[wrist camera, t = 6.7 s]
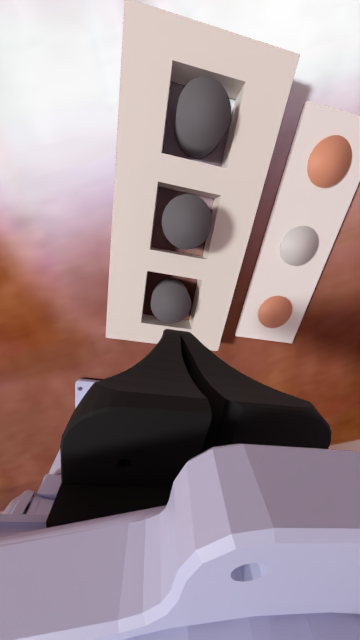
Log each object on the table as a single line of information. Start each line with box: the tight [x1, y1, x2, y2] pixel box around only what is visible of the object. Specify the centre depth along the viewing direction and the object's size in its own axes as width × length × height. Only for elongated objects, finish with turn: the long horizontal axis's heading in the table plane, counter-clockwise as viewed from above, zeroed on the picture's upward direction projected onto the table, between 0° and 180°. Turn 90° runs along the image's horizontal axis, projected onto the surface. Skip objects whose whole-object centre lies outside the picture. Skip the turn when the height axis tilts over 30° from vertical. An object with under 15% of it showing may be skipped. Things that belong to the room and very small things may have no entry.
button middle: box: [162, 194, 212, 249], centre depth 15 cm, size 3×3×2 cm
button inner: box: [151, 278, 191, 323], centre depth 19 cm, size 3×3×2 cm
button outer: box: [175, 76, 231, 158], centre depth 14 cm, size 3×3×2 cm
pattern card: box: [235, 101, 360, 343], centre depth 19 cm, size 18×6×1 cm, turn 170°
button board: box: [106, 0, 300, 351], centre depth 17 cm, size 20×10×2 cm, turn 170°
